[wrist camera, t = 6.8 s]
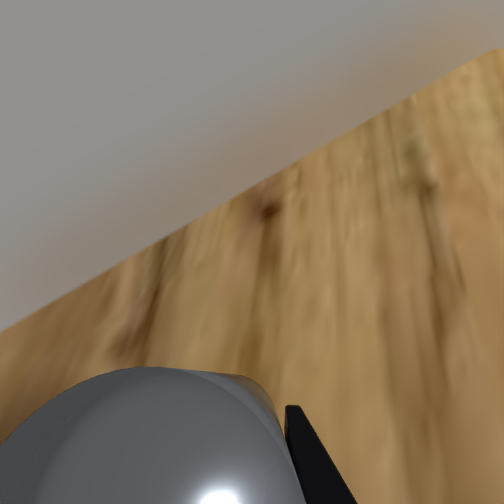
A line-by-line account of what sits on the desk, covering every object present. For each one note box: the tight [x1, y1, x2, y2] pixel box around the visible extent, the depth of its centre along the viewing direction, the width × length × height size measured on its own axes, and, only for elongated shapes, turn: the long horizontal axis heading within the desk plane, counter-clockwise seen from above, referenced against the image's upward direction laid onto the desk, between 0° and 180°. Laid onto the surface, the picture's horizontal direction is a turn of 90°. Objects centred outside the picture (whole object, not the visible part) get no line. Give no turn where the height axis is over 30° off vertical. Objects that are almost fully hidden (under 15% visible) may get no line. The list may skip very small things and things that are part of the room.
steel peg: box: [0, 367, 306, 504], centre depth 9 cm, size 4×4×12 cm
